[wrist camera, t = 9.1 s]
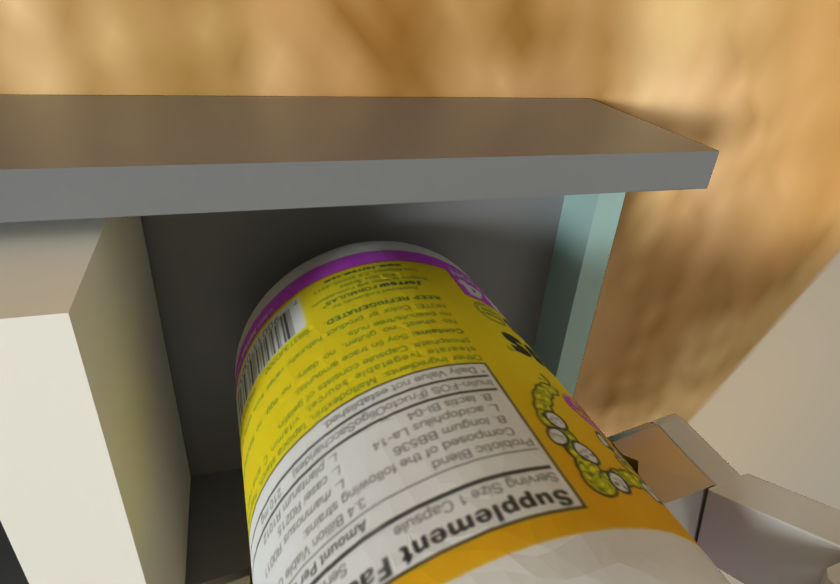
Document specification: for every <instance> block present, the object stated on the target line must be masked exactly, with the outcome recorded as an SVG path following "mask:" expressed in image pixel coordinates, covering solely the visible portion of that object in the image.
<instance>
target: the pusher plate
mask: <svg viewBox="0 0 840 584" xmlns="http://www.w3.org/2000/svg"><path fill="white" fill-rule="evenodd" d="M190 481H191V476H190V471H189V465H188V460H187V455H186V450H185V445H184V439H183V434H182V429H181V424H180V419H179V414H178V408H177V403H176V398H175V393H174V388H173V382H172V377H171V372H170V367H169V362H168V357H167V351H166V346H165V341H164V336H163V331H162V326H161V320H160V315H159V310H158V305H157V300H156V294H155V289H154V284H153V279H152V274H151V269H150V263H149V258H148V253H147V248H146V243H145V237H144V232H143V227H142V222H141V217H140V216H128V217H107V218H87V219H66V220H45V221H25V222H4V223H0V521H1V523H2V525H3V528H4V530H5V532H6V534H7V536H8V539H9V541H10V543H11V545H12V547H13V550H14V552H15V554H16V556H17V558H18V560H19V563H20V565H21V567H22V569H23V571H24V574H25V576H26V578H27V580H28V582H29V584H185V576H186V557H187V538H188V519H189V500H190Z"/></svg>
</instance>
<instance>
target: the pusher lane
mask: <svg viewBox="0 0 840 584" xmlns="http://www.w3.org/2000/svg"><path fill="white" fill-rule="evenodd" d="M718 154H719V151H718V150H715V149H713V148H710V147H708V146H705V145H703V144H700V143H698V142H696V141H693V140H691V139H688V138H686V137H683V136H681V135H678V134H676V133H673V132H671V131H668V130H666V129H663V128H661V127H659V126H656V125H654V124H651V123H649V122H646V121H644V120H641V119H639V118H636V117H634V116H631V115H629V114H626V113H624V112H622V111H619V110H617V109H614V108H612V107H609V106H607V105H604V104H602V103H599V102H597V101H594V100H592V99H589V98H456V97H298V96H140V95H0V223H4V222H25V221H45V220H66V219H87V218H107V217H128V216H140V217H141V222H142V227H143V232H144V237H145V243H146V248H147V253H148V258H149V263H150V269H151V274H152V279H153V284H154V289H155V294H156V300H157V305H158V310H159V315H160V320H161V326H162V331H163V336H164V341H165V346H166V351H167V357H168V362H169V367H170V372H171V377H172V382H173V388H174V393H175V398H176V403H177V408H178V414H179V419H180V424H181V429H182V434H183V439H184V445H185V450H186V455H187V460H188V465H189V471H190V476H191V481H190V500H189V519H188V538H187V557H186V576H185V584H201V583H204V582H207V581H210V580H213V579H216V578H219V577H222V576H224V575H227V574H230V573H233V572H236V571H239V570H242V569H245V568H248V567H251V558H250V547H249V536H248V525H247V514H246V503H245V492H244V480H243V469H242V458H241V447H240V435H239V424H238V413H237V402H236V382H235V364H236V355H237V350H238V345H239V342H240V339H241V336H242V333H243V331H244V328H245V326H246V324H247V321H248V319H249V318H250V316H251V314H252V312H253V311H254V309H255V308H256V306H257V305H258V303H259V302H260V301H261V299H262V298H263V297H264V296H265V294H266V293H267V292H268V291H269V290H270V289H271V288H272V287H273V286H274V285H275V284H276V283H277V282H278V281H280V280H281V279H282V278H283V277H284V276H285V275H287V274H288V273H289V272H291V271H292V270H293V269H295V268H296V267H298V266H300V265H301V264H303V263H305V262H306V261H308V260H310V259H312V258H314V257H316V256H318V255H320V254H323V253H325V252H328V251H330V250H333V249H335V248H338V247H341V246H344V245H348V244H353V243H359V242H367V241H396V242H403V243H408V244H413V245H417V246H420V247H423V248H426V249H429V250H431V251H433V252H435V253H438V254H440V255H442V256H443V257H445V258H447V259H448V260H450V261H451V262H453V263H454V264H455V265H457V266H458V267H459V268H460V269H461V270H462V271H464V272H465V273H466V274H467V275H468V276H469V278H470V279H471V280H472V281H473V282H474V283H475V284H476V285H477V286H478V287H479V288H480V289H481V290H482V291H483V293H484V294H485V295H486V296H487V297H488V299H489V300H490V301H491V302H492V303H493V304H494V305H495V307H496V308H497V309H498V310H499V311H500V312H501V313H502V315H503V316H504V317H505V318H506V320H507V321H508V322H509V323H510V324H511V325H512V327H513V328H514V329H515V330H516V331H517V332H518V334H519V335H520V336H521V337H522V338H523V339H524V341H525V342H526V343H527V344H528V345H529V346H530V348H531V349H532V350H533V351H534V352H535V354H536V355H537V356H538V357H539V358H540V359H541V360H542V362H543V363H544V364H545V365H546V367H547V368H548V369H549V371H550V372H551V373H552V374H553V375H554V376H555V377H556V378H557V379H558V380H559V382H560V383H561V384H562V385H563V387H564V388H565V389H566V390H567V391H568V393H569V394H570V395H571V396H572V397H573V395H574V391H575V387H576V383H577V379H578V375H579V371H580V368H581V364H582V360H583V356H584V352H585V348H586V344H587V341H588V337H589V333H590V329H591V325H592V321H593V317H594V314H595V310H596V306H597V302H598V298H599V294H600V290H601V287H602V283H603V279H604V275H605V271H606V267H607V263H608V260H609V256H610V252H611V248H612V244H613V240H614V236H615V233H616V229H617V225H618V221H619V217H620V213H621V209H622V206H623V202H624V198H625V194H626V192H643V191H664V190H685V189H705V188H707V187H708V184H709V181H710V178H711V175H712V172H713V169H714V166H715V163H716V160H717V157H718ZM0 584H29V582H28V580H27V578H26V576H25V574H24V571H23V569H22V567H21V565H20V563H19V560H18V558H17V556H16V554H15V552H14V550H13V547H12V545H11V543H10V541H9V539H8V536H7V534H6V532H5V530H4V528H3V525H2V523H1V521H0Z"/></svg>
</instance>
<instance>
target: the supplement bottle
mask: <svg viewBox="0 0 840 584" xmlns="http://www.w3.org/2000/svg"><path fill="white" fill-rule="evenodd" d="M235 382H236V402H237V413H238V424H239V435H240V447H241V458H242V469H243V480H244V492H245V503H246V514H247V525H248V536H249V547H250V558H251V570H252V582H253V584H730V583H729V581H728V580H727V579H726V578H725V576H724V575H723V574H722V573H721V572H720V570H719V569H718V568H717V567H716V565H715V564H714V563H713V562H712V561H711V559H710V558H709V557H708V556H707V554H706V553H705V552H704V551H703V550H702V548H701V547H700V546H699V545H698V544H697V542H696V541H695V540H694V539H693V538H692V537H691V535H690V534H689V533H688V532H687V531H686V530H685V529H684V527H683V526H682V525H681V524H680V523H679V522H678V520H677V519H676V518H675V517H674V516H673V515H672V513H671V512H670V511H669V510H668V509H667V508H666V507H665V505H664V504H663V503H662V502H661V501H660V500H659V498H658V497H657V496H656V495H655V494H654V493H653V491H652V490H651V489H650V488H649V487H648V485H647V484H646V483H645V482H644V481H643V480H642V479H641V478H640V476H639V475H638V474H637V473H636V472H635V471H634V469H633V468H632V467H631V466H630V465H629V463H628V462H627V461H626V460H625V459H624V458H623V456H622V455H621V454H620V453H619V452H618V450H617V449H616V448H615V447H614V446H613V444H612V443H611V442H610V441H609V440H608V439H607V438H606V436H605V435H604V434H603V433H602V432H601V431H600V429H599V428H598V427H597V426H596V425H595V423H594V422H593V421H592V420H591V419H590V417H589V416H588V415H587V414H586V413H585V412H584V410H583V409H582V408H581V407H580V406H579V404H578V403H577V402H576V401H575V400H574V398H573V397H572V396H571V395H570V394H569V393H568V391H567V390H566V389H565V388H564V387H563V385H562V384H561V383H560V382H559V380H558V379H557V378H556V377H555V376H554V375H553V374H552V373H551V372H550V371H549V369H548V368H547V367H546V365H545V364H544V363H543V362H542V360H541V359H540V358H539V357H538V356H537V355H536V354H535V352H534V351H533V350H532V349H531V348H530V346H529V345H528V344H527V343H526V342H525V341H524V339H523V338H522V337H521V336H520V335H519V334H518V332H517V331H516V330H515V329H514V328H513V327H512V325H511V324H510V323H509V322H508V321H507V320H506V318H505V317H504V316H503V315H502V313H501V312H500V311H499V310H498V309H497V308H496V307H495V305H494V304H493V303H492V302H491V301H490V300H489V299H488V297H487V296H486V295H485V294H484V293H483V291H482V290H481V289H480V288H479V287H478V286H477V285H476V284H475V283H474V282H473V281H472V280H471V279H470V278H469V276H468V275H467V274H466V273H465V272H464V271H462V270H461V269H460V268H459V267H458V266H457V265H455V264H454V263H453V262H451V261H450V260H448V259H447V258H445V257H443V256H442V255H440V254H438V253H435V252H433V251H431V250H429V249H426V248H423V247H420V246H417V245H413V244H408V243H403V242H396V241H367V242H359V243H353V244H348V245H344V246H341V247H338V248H335V249H333V250H330V251H328V252H325V253H323V254H320V255H318V256H316V257H314V258H312V259H310V260H308V261H306V262H305V263H303V264H301V265H300V266H298V267H296V268H295V269H293V270H292V271H291V272H289V273H288V274H287V275H285V276H284V277H283V278H282V279H281V280H280V281H278V282H277V283H276V284H275V285H274V286H273V287H272V288H271V289H270V290H269V291H268V292H267V293H266V294H265V296H264V297H263V298H262V299H261V301H260V302H259V303H258V305H257V306H256V308H255V309H254V311H253V312H252V314H251V316H250V318H249V319H248V321H247V324H246V326H245V328H244V331H243V333H242V336H241V339H240V342H239V345H238V350H237V355H236V364H235Z"/></svg>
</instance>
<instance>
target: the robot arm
mask: <svg viewBox="0 0 840 584" xmlns="http://www.w3.org/2000/svg"><path fill="white" fill-rule="evenodd" d="M607 439H608V440H609V441H610V442H611V443H612V444H613V446H614V447H615V448H616V449H617V450H618V452H619V453H620V454H621V455H622V456H623V458H624V459H625V460H626V461H627V462H628V463H629V465H630V466H631V467H632V468H633V469H634V471H635V472H636V473H637V474H638V475H639V476H640V478H641V479H642V480H643V481H644V482H645V483H646V484H647V485H648V487H649V488H650V489H651V490H652V491H653V493H654V494H655V495H656V496H657V497H658V498H659V500H660V501H661V502H662V503H663V504H664V505H665V507H666V508H667V509H668V510H669V511H670V512H671V513H672V515H673V516H674V517H675V518H676V519H677V520H678V522H679V523H680V524H681V525H682V526H683V527H684V529H685V530H686V531H687V532H688V533H689V534H690V535H691V537H692V538H693V539H694V540H695V541H696V542H697V544H698V545H699V546H700V547H701V548H702V550H703V551H704V552H705V553H706V554H707V556H708V557H709V558H710V559H711V561H712V562H713V563H714V564H715V565H716V567H718V568H719V569H721V570H723V571H724V572H726V573H727V574H729V575H731V576H733V577H734V578H736V579H737V580H739V581H741V582H742V583H744V584H840V510H837V509H835V508H832V507H830V506H827V505H825V504H822V503H820V502H817V501H815V500H812V499H810V498H807V497H805V496H802V495H800V494H797V493H795V492H792V491H790V490H787V489H785V488H782V487H780V486H777V485H775V484H772V483H770V482H768V481H765V480H762V479H760V478H757V477H755V476H752V475H750V474H745V475H742V476H740V475H739V474H738V473H737V472H736V471H735V470H734V469H733V468H732V467H731V466H730V465H729V464H728V463H727V462H726V461H725V460H724V459H723V458H722V457H721V456H720V455H719V454H718V453H717V452H716V451H715V450H714V449H713V448H712V447H711V446H710V445H709V444H708V443H707V442H706V441H705V440H704V439H703V438H702V437H701V436H700V435H699V434H698V433H697V432H696V431H695V430H694V429H693V428H692V427H691V426H690V425H689V424H688V423H687V422H686V421H685V420H684V419H683V418H682V417H680V416H678V415H676V414H672V415H668V416H666V417H663V418H660V419H658V420H655V421H653V422H650V423H648V422H647V423H645V424H642V425H639V426H637V427H634V428H631V429H629V430H626V431H623V432H621V433H618V434H616V435H613V436H610V437H608V438H607ZM201 584H253V582H252V570H251V567H248V568H245V569H242V570H239V571H236V572H233V573H230V574H227V575H224V576H222V577H219V578H216V579H213V580H210V581H207V582H204V583H201Z"/></svg>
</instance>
